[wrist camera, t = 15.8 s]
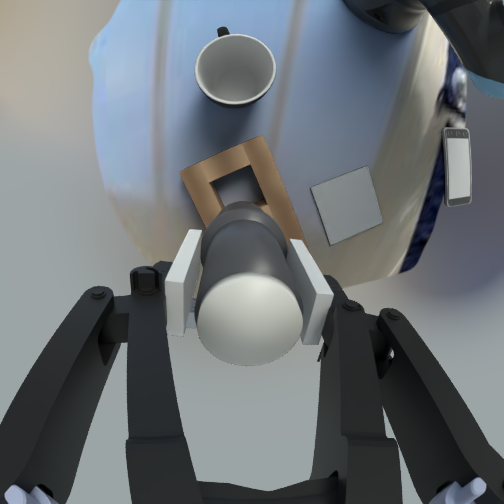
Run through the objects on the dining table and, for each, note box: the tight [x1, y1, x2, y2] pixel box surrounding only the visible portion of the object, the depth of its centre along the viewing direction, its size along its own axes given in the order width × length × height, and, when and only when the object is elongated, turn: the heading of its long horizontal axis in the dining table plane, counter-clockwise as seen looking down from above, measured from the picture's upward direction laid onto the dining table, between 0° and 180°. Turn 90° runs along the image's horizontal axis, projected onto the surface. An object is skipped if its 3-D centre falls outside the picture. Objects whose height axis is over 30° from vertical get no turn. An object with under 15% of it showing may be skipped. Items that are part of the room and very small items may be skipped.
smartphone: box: [442, 127, 472, 207], centre depth 40 cm, size 7×1×15 cm
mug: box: [195, 27, 276, 108], centre depth 30 cm, size 12×9×10 cm
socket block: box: [179, 135, 310, 253], centre depth 36 cm, size 12×22×14 cm, turn 23°
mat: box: [310, 166, 383, 245], centre depth 42 cm, size 10×10×1 cm
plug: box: [194, 201, 303, 366], centre depth 16 cm, size 5×5×13 cm
